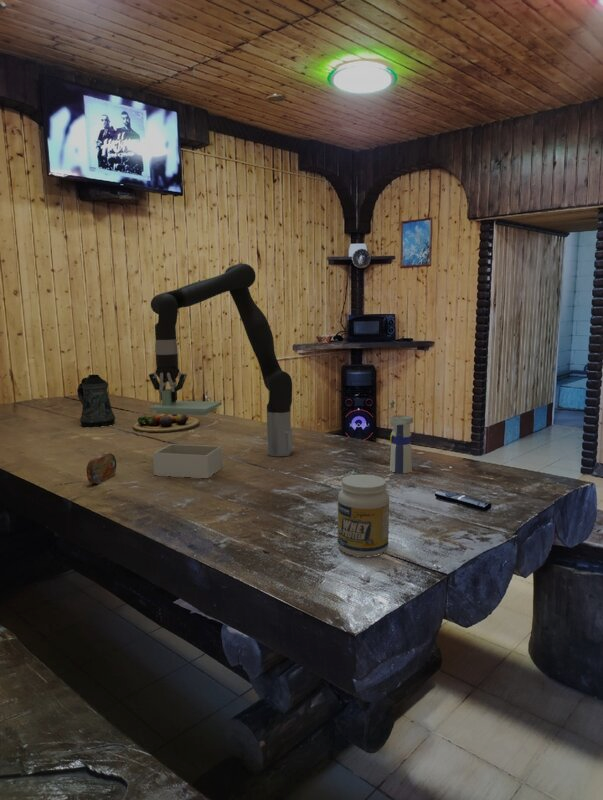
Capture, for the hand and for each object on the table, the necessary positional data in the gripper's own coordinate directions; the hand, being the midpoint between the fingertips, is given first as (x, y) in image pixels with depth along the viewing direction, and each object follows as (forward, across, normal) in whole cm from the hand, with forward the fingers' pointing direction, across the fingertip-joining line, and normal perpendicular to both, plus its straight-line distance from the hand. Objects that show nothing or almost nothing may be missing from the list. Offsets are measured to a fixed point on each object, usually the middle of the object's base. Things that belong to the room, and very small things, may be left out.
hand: (169, 401), depth 201 cm
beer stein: (+25, +74, -69) cm, 105 cm away
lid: (+3, -6, 0) cm, 7 cm away
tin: (+25, +19, +15) cm, 35 cm away
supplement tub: (+25, -74, +53) cm, 95 cm away
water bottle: (+25, -80, -15) cm, 85 cm away
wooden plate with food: (+26, +37, -72) cm, 85 cm away
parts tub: (+25, -6, 0) cm, 26 cm away
